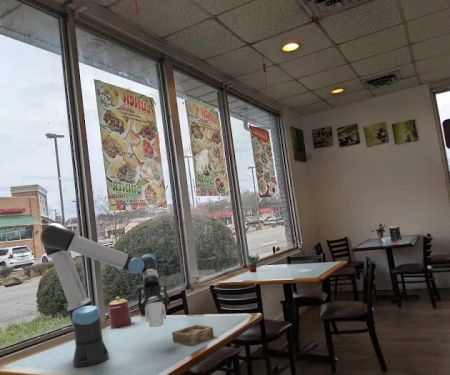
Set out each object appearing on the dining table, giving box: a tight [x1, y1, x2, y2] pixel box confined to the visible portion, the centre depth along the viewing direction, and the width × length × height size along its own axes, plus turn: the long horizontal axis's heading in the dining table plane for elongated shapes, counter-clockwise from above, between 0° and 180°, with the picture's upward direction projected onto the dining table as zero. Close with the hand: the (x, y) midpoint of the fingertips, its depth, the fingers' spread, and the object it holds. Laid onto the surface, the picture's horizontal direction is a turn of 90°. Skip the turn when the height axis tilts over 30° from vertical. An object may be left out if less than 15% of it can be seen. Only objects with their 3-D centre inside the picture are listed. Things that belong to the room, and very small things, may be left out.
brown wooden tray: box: [171, 324, 215, 346], centre depth 192 cm, size 14×14×4 cm
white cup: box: [146, 301, 164, 328], centre depth 190 cm, size 8×8×10 cm
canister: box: [107, 296, 132, 329], centre depth 251 cm, size 13×13×18 cm
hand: (156, 318), depth 187 cm, fingers closed on white cup, 8 cm apart
